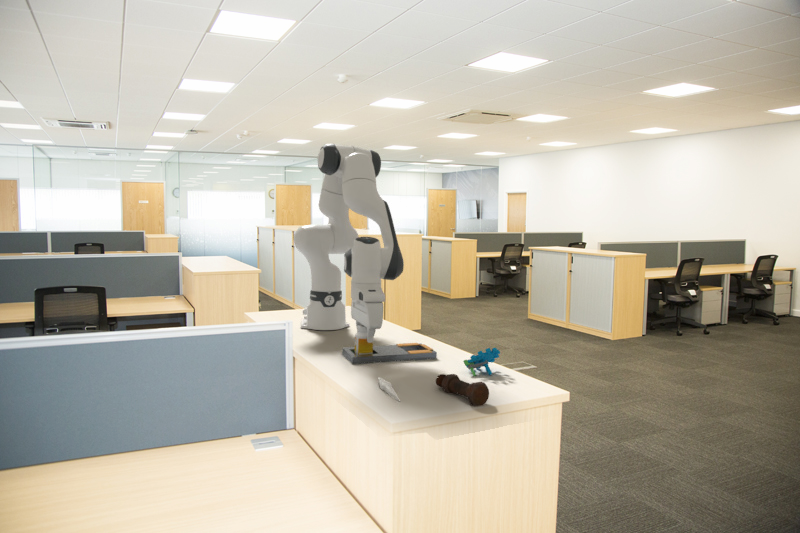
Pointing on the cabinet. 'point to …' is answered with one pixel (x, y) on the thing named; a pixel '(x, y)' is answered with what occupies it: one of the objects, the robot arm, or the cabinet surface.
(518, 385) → the cabinet surface
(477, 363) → the blue lobed piece
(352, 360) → the gray and orange holder
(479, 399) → the bolt
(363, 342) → the supplement bottle
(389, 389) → the stone spearhead
